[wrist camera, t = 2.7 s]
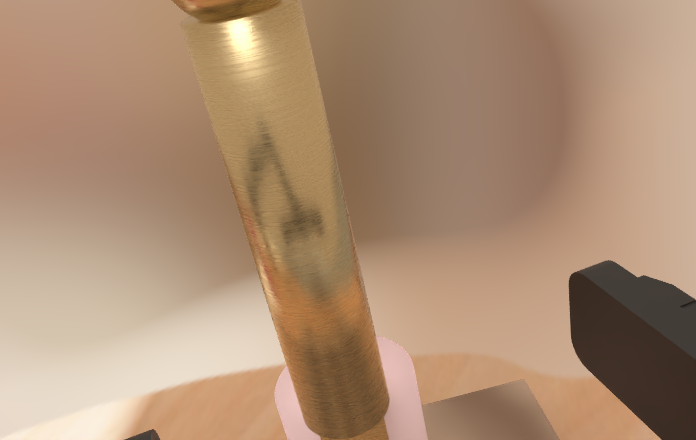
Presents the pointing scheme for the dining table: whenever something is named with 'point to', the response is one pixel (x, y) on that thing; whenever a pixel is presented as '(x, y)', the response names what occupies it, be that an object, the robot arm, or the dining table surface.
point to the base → (489, 416)
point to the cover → (402, 388)
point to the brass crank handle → (291, 205)
